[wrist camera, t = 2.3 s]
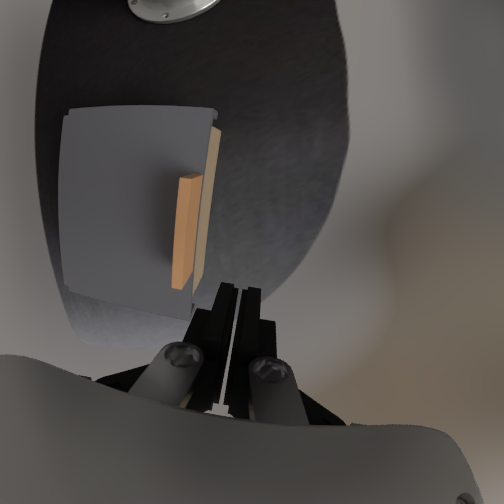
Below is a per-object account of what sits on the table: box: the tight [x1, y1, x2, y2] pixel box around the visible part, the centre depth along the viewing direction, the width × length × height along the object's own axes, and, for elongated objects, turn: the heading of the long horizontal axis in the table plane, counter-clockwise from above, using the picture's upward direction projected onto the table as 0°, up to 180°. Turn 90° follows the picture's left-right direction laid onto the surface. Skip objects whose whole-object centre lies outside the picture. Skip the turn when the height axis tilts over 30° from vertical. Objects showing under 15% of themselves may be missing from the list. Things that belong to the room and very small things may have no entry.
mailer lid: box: [58, 105, 218, 321], centre depth 21 cm, size 18×14×6 cm
